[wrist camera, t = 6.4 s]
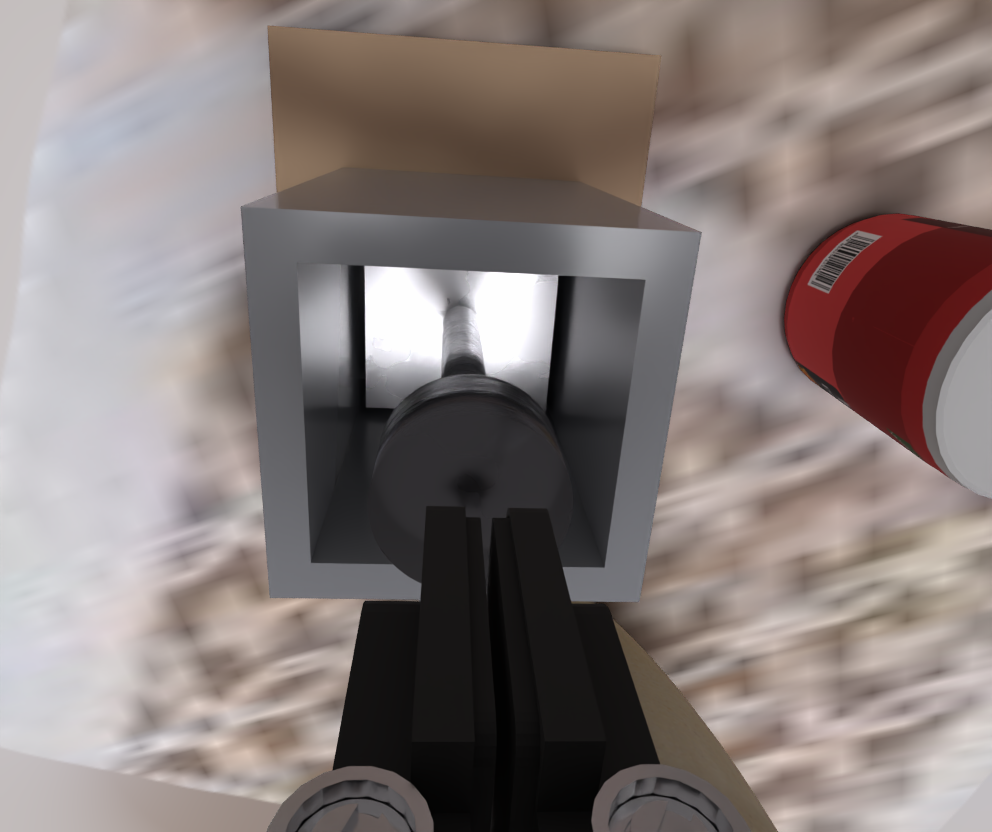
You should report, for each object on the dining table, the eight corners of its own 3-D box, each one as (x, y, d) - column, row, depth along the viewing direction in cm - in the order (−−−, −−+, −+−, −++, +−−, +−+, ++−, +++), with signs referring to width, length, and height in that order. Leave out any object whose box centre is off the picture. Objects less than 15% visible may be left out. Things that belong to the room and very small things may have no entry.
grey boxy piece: (343, 166, 26) (241, 206, 13) (580, 181, 27) (701, 232, 14) (348, 448, 31) (276, 682, 18) (552, 453, 31) (625, 683, 18)
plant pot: (478, 482, 33) (501, 763, 19) (733, 587, 37) (924, 896, 22) (359, 703, 38) (302, 1067, 23) (594, 778, 41) (674, 1138, 27)
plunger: (366, 218, 23) (273, 322, 11) (559, 228, 24) (679, 339, 11) (368, 399, 25) (293, 652, 13) (542, 405, 26) (626, 654, 14)
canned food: (768, 392, 33) (912, 512, 22) (789, 214, 29) (968, 261, 19) (928, 382, 33) (1142, 497, 23) (965, 206, 30) (1233, 248, 20)
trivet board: (277, 31, 26) (267, 25, 24) (650, 59, 27) (661, 55, 25) (299, 469, 32) (292, 484, 31) (596, 477, 34) (602, 492, 32)
